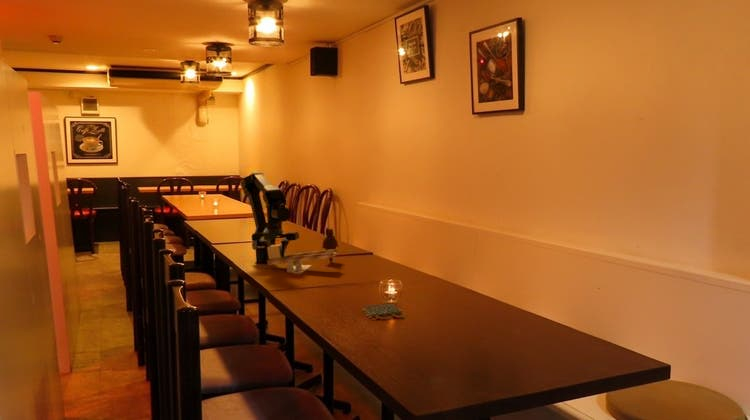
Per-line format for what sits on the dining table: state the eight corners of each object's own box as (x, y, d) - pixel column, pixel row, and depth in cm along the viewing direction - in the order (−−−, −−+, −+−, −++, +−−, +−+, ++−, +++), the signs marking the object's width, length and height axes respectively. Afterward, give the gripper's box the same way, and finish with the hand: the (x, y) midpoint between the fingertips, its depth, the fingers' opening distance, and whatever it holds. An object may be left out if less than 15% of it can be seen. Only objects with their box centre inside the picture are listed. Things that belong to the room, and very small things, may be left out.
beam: (267, 265, 239) (266, 260, 239) (274, 261, 247) (273, 256, 247) (333, 257, 234) (332, 252, 234) (338, 253, 242) (337, 248, 242)
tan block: (269, 261, 240) (267, 247, 240) (273, 259, 245) (271, 245, 245) (280, 260, 239) (278, 246, 239) (284, 258, 244) (282, 243, 244)
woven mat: (370, 321, 170) (370, 315, 169) (361, 312, 180) (361, 306, 180) (404, 317, 172) (404, 310, 172) (393, 308, 183) (393, 302, 182)
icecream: (341, 262, 256) (340, 228, 254) (326, 264, 253) (324, 230, 251) (335, 259, 262) (333, 226, 260) (320, 261, 259) (318, 228, 257)
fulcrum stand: (276, 275, 235) (275, 263, 234) (289, 267, 250) (288, 255, 250) (300, 275, 233) (299, 263, 232) (311, 266, 249) (310, 255, 248)
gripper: (245, 222, 234) (247, 260, 236) (290, 221, 231) (292, 260, 233) (255, 218, 245) (257, 255, 247) (298, 218, 242) (300, 255, 244)
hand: (276, 256), depth 242 cm, fingers closed on tan block, 5 cm apart
